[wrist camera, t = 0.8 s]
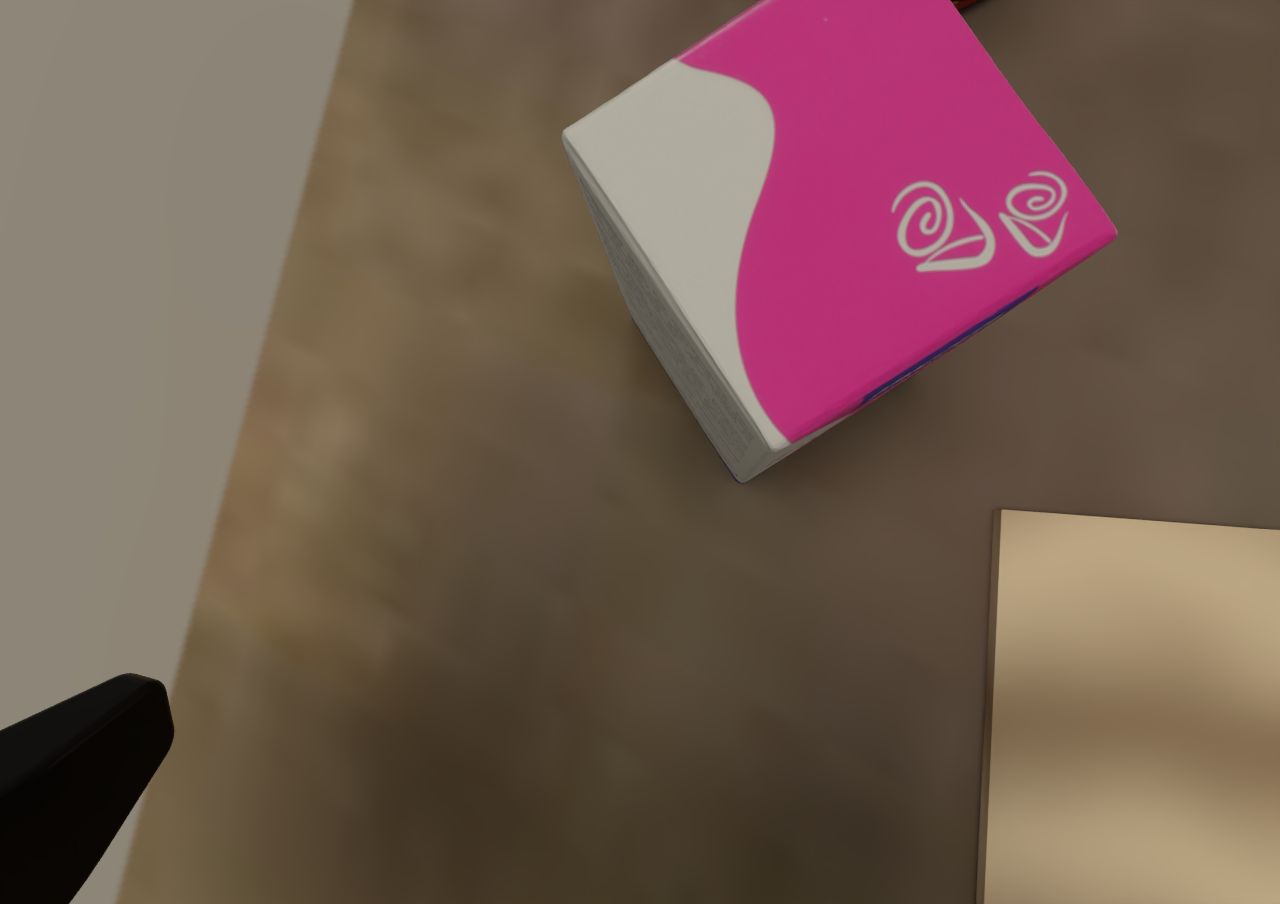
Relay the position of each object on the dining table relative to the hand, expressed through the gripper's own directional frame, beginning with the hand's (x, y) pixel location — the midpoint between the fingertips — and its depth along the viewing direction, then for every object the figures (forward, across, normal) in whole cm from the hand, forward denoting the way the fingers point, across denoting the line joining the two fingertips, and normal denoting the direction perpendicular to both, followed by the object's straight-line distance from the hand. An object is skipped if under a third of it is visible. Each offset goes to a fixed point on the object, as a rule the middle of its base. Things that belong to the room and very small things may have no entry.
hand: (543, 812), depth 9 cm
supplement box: (+16, -1, +1) cm, 16 cm away
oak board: (+12, -15, +8) cm, 20 cm away
